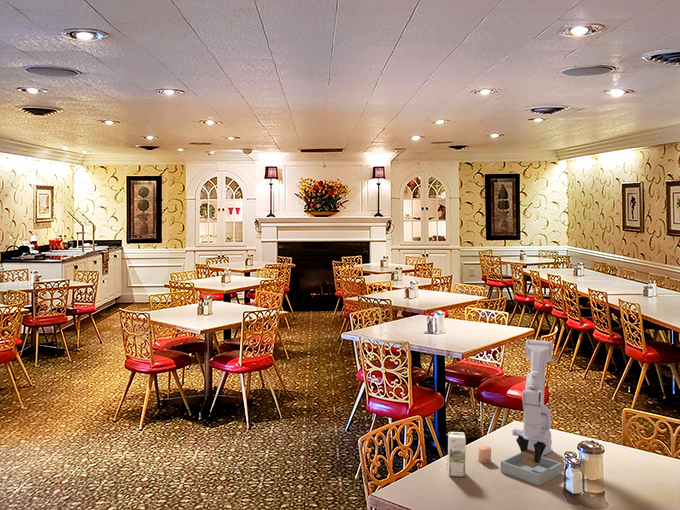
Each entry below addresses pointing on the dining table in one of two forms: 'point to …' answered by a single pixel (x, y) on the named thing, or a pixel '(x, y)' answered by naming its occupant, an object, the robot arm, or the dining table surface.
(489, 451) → the peach rounded capsule
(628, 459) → the dining table surface
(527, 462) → the walnut block
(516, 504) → the dining table surface
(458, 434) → the syrup box
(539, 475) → the tote
